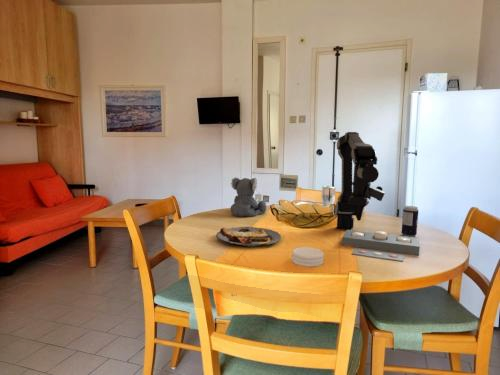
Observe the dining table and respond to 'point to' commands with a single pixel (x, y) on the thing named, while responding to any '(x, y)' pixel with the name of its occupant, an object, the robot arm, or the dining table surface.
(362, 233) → the button left
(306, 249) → the grey stacked discs
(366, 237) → the button board
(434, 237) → the dining table surface
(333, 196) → the beer glass
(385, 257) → the pattern card
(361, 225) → the dining table surface
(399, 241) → the button right
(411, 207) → the beverage can
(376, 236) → the button middle
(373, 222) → the dining table surface
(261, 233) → the food plate
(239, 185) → the koala plush
